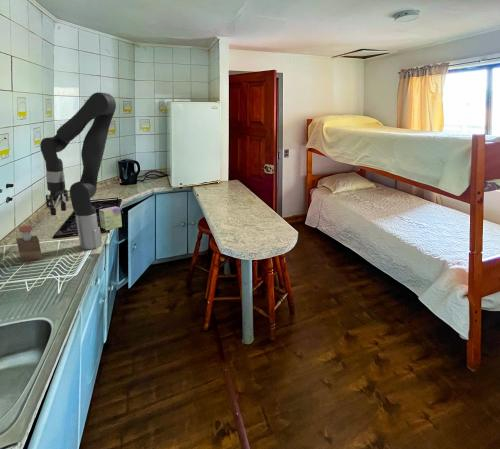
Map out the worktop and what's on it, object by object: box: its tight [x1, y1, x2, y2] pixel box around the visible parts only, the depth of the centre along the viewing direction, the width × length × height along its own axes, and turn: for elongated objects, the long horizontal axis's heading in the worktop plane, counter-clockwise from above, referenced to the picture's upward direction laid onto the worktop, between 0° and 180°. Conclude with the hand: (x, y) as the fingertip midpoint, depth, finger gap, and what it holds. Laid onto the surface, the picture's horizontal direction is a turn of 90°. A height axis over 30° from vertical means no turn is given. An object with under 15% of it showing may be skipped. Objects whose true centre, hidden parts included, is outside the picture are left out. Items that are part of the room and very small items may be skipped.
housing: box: [16, 235, 43, 263], centre depth 154 cm, size 8×8×9 cm
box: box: [98, 206, 123, 231], centre depth 197 cm, size 10×6×12 cm, turn 141°
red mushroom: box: [18, 224, 33, 241], centre depth 153 cm, size 5×5×10 cm
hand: (58, 212), depth 165 cm, fingers open, 8 cm apart
